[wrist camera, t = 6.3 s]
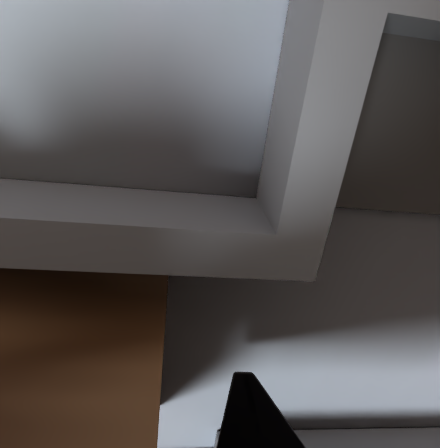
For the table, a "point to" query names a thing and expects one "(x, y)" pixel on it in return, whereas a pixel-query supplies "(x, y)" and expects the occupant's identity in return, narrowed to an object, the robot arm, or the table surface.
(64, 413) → the walnut block
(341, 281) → the table surface
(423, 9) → the trap lane
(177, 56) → the table surface
